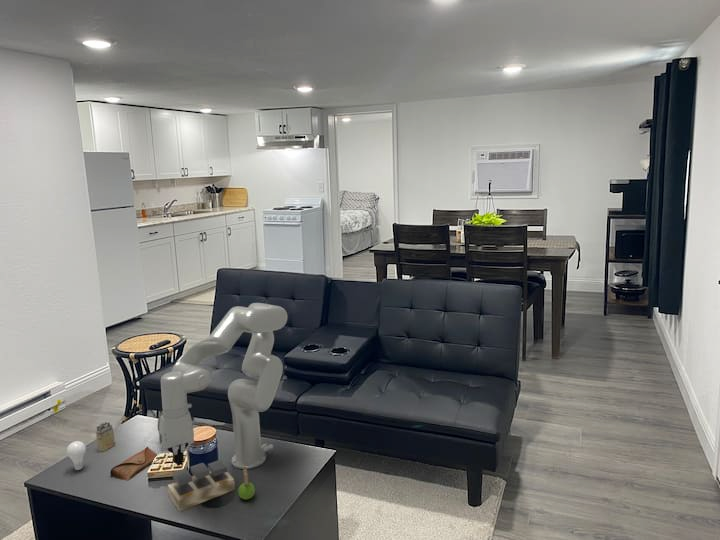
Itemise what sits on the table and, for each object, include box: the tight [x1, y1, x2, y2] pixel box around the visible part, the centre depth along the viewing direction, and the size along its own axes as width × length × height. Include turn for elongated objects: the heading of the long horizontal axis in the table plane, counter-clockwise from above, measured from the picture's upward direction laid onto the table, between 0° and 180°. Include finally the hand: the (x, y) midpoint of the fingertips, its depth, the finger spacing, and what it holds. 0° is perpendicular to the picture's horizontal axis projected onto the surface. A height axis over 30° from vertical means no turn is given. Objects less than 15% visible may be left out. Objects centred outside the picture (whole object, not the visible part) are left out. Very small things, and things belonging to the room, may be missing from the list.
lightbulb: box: [66, 440, 87, 471], centre depth 204 cm, size 6×6×11 cm
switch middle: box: [190, 462, 210, 479], centre depth 187 cm, size 4×6×3 cm
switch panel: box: [167, 471, 236, 512], centre depth 188 cm, size 19×11×4 cm, turn 126°
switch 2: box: [207, 459, 228, 476], centre depth 191 cm, size 4×6×3 cm
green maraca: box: [237, 468, 256, 500], centre depth 183 cm, size 5×6×12 cm
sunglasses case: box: [109, 446, 158, 482], centre depth 206 cm, size 18×7×7 cm, turn 156°
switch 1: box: [172, 468, 193, 486], centre depth 184 cm, size 4×6×3 cm
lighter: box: [95, 421, 116, 452], centre depth 220 cm, size 7×4×10 cm, turn 156°
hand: (178, 463), depth 182 cm, fingers closed
